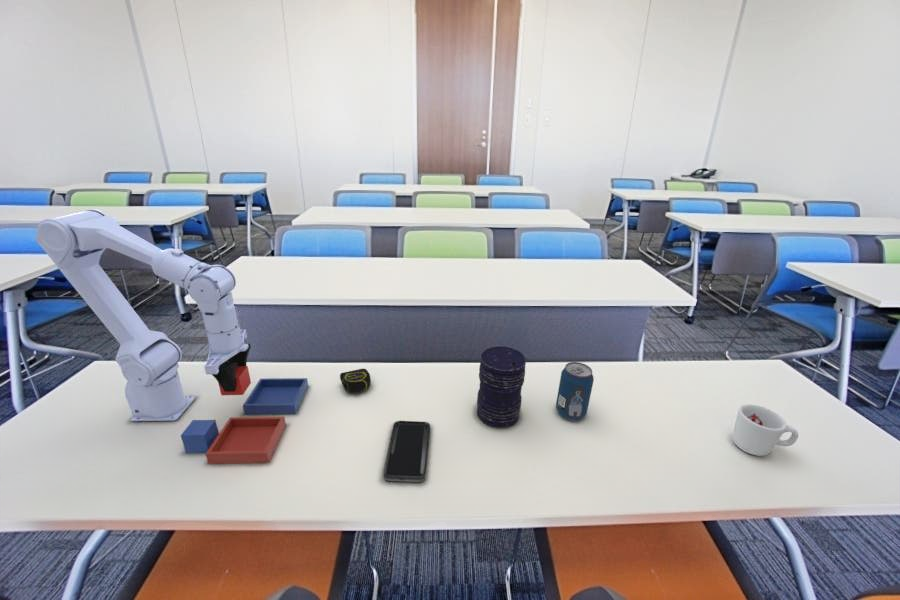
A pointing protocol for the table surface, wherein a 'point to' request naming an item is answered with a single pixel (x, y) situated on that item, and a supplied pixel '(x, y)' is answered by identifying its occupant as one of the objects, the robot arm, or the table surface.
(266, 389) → the blue tray
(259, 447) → the red tray
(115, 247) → the robot arm
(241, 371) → the red block
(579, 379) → the soda can
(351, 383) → the tape measure
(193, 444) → the blue block
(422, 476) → the phone
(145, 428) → the table surface
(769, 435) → the cup
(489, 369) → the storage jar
